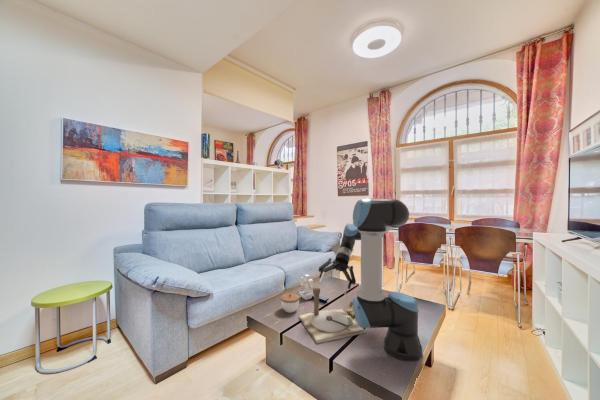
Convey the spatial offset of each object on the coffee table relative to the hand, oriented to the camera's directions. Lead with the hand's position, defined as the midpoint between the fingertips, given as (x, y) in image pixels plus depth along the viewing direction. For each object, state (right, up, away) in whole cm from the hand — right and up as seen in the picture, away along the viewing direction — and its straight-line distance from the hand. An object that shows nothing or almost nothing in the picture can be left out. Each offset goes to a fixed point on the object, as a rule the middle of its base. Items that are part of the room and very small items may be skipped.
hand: (332, 288), depth 122 cm
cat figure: (+22, -19, +14) cm, 33 cm away
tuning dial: (-1, -17, 0) cm, 17 cm away
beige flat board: (-2, -19, 0) cm, 19 cm away
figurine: (-12, -18, +32) cm, 39 cm away
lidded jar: (-22, -19, +16) cm, 33 cm away
